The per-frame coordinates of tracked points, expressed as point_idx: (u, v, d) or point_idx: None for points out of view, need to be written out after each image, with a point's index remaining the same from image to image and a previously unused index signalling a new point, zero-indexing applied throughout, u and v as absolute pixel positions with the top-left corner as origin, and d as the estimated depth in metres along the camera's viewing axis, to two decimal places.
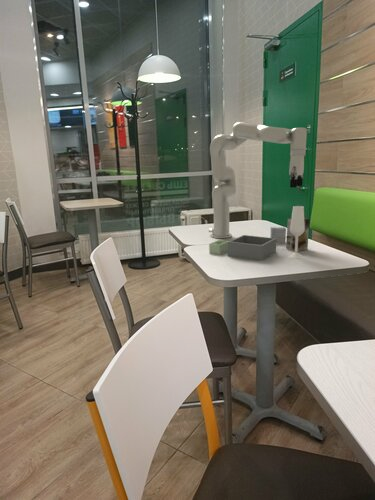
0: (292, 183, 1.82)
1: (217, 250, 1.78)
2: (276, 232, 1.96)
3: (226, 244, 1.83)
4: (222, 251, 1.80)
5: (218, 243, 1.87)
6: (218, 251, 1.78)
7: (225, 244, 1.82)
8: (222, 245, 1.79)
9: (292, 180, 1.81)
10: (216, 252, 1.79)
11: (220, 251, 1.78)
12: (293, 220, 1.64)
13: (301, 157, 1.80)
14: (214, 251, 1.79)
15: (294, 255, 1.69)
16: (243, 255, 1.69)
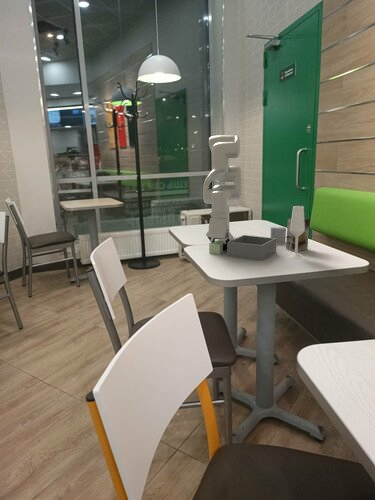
0: (226, 247, 1.80)
1: (217, 249, 1.78)
2: (276, 232, 1.96)
3: None
4: (222, 251, 1.80)
5: (218, 243, 1.87)
6: (218, 251, 1.78)
7: None
8: (222, 245, 1.79)
9: (226, 244, 1.80)
10: (216, 252, 1.79)
11: (220, 251, 1.78)
12: (293, 220, 1.64)
13: None
14: (214, 251, 1.79)
15: (294, 255, 1.69)
16: (243, 255, 1.69)
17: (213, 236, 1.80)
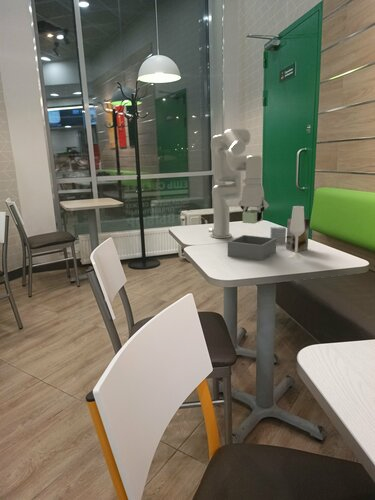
0: (261, 216, 1.69)
1: (252, 218, 1.67)
2: (276, 232, 1.96)
3: None
4: (256, 220, 1.69)
5: (251, 213, 1.76)
6: (252, 220, 1.67)
7: None
8: (256, 214, 1.68)
9: (261, 213, 1.69)
10: (250, 221, 1.68)
11: (254, 220, 1.67)
12: (293, 220, 1.64)
13: None
14: (248, 220, 1.68)
15: (294, 255, 1.69)
16: (243, 255, 1.69)
17: (247, 205, 1.69)
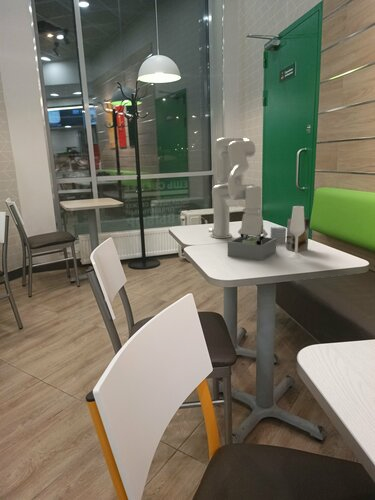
0: (260, 244, 1.73)
1: None
2: (276, 232, 1.96)
3: None
4: None
5: (250, 240, 1.79)
6: None
7: None
8: (256, 242, 1.72)
9: (260, 241, 1.72)
10: None
11: None
12: (293, 220, 1.64)
13: None
14: None
15: (294, 255, 1.69)
16: (243, 255, 1.69)
17: (246, 233, 1.73)
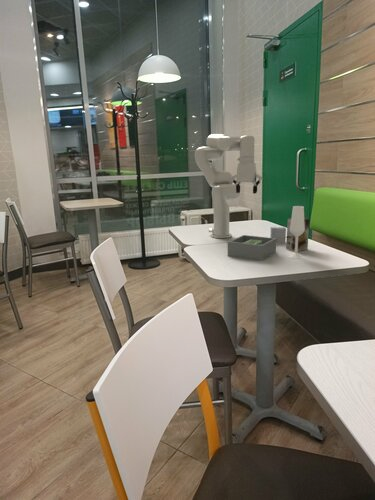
0: (256, 189, 1.87)
1: None
2: (276, 232, 1.96)
3: (259, 244, 1.75)
4: None
5: (250, 243, 1.80)
6: None
7: (258, 244, 1.74)
8: None
9: (256, 186, 1.86)
10: None
11: None
12: (293, 220, 1.64)
13: None
14: None
15: (294, 255, 1.69)
16: (243, 255, 1.69)
17: (241, 180, 1.88)
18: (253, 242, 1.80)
